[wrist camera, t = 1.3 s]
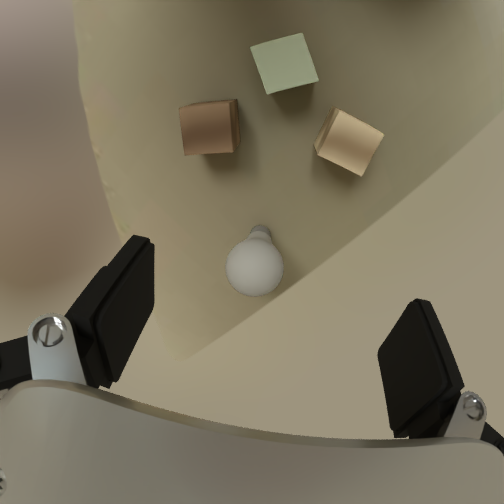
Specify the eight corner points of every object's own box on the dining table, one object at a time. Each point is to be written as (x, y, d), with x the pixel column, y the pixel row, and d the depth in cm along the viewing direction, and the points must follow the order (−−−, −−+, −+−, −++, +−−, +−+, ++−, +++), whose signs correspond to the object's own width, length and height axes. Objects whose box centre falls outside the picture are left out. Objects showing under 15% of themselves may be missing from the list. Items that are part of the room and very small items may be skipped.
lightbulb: (233, 211, 38) (214, 261, 29) (282, 207, 37) (279, 257, 28) (241, 252, 41) (226, 309, 32) (287, 250, 40) (285, 307, 31)
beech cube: (332, 105, 30) (339, 110, 25) (371, 125, 30) (384, 134, 26) (313, 143, 32) (317, 155, 28) (352, 162, 33) (361, 176, 29)
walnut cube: (193, 103, 31) (178, 108, 27) (237, 99, 30) (228, 102, 26) (197, 144, 34) (184, 155, 30) (240, 141, 33) (232, 152, 29)
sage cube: (255, 51, 27) (249, 46, 23) (300, 39, 26) (302, 32, 22) (269, 92, 30) (266, 94, 26) (314, 80, 28) (318, 81, 24)
